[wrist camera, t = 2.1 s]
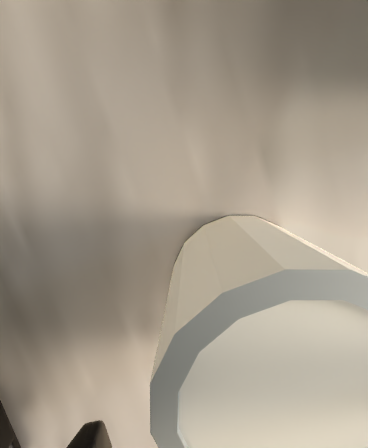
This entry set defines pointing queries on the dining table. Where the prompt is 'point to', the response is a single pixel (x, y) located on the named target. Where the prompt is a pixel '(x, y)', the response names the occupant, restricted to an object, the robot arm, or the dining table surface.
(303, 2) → the dining table surface
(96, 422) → the robot arm
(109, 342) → the dining table surface
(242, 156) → the dining table surface
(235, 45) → the dining table surface
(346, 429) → the white cup
